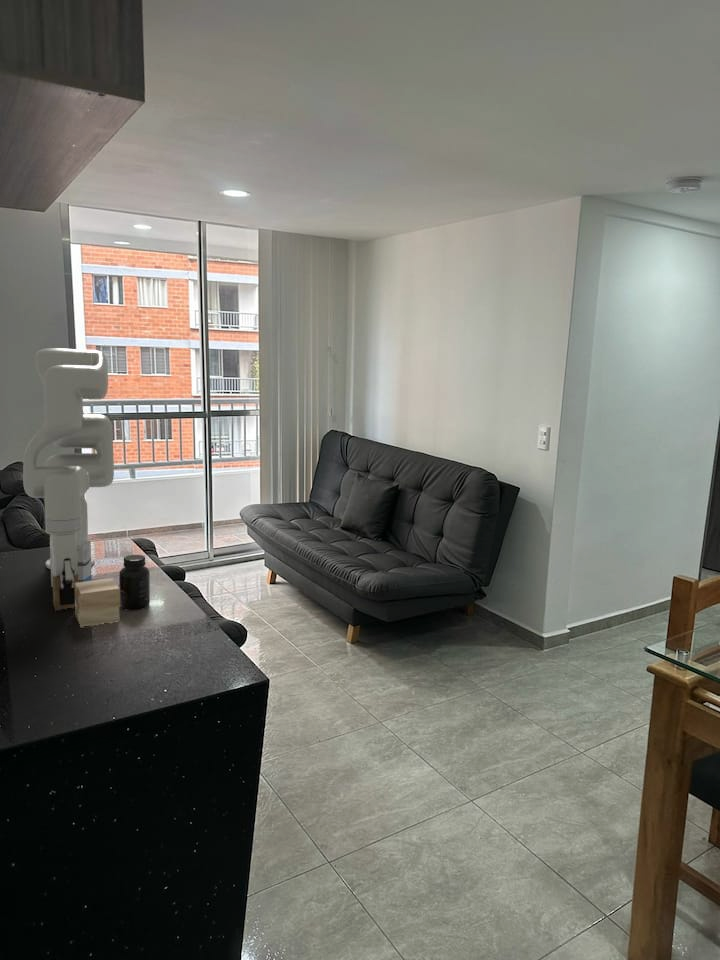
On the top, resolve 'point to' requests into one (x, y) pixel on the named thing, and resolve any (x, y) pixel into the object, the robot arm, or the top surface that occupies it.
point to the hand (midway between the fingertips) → (65, 599)
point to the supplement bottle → (134, 583)
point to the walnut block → (56, 592)
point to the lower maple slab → (96, 615)
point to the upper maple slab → (97, 594)
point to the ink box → (82, 561)
